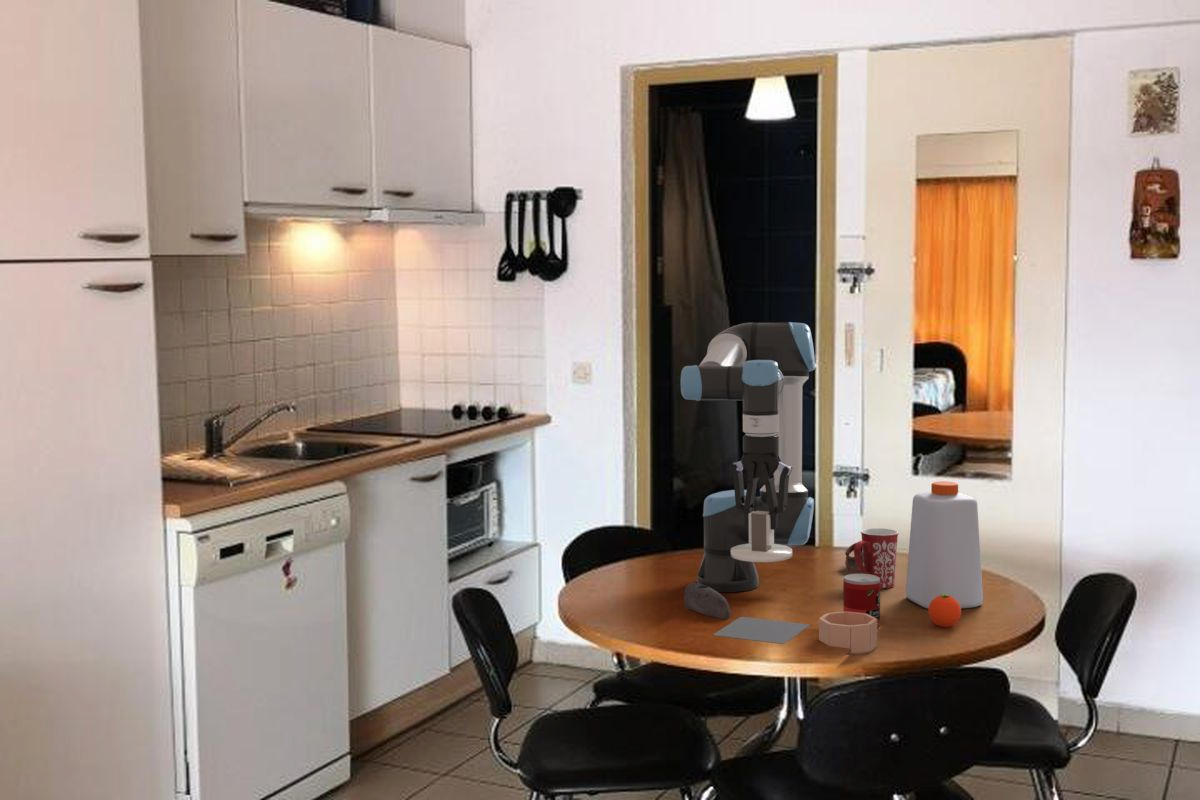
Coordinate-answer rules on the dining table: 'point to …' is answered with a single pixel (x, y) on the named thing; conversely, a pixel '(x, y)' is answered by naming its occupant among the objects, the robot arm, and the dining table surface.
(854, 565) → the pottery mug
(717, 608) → the perforated stone tool
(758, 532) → the lid
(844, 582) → the canned food
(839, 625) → the pink faceted pot
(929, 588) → the plastic bottle
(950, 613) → the clementine
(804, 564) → the dining table surface
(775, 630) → the plate
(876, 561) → the mug
